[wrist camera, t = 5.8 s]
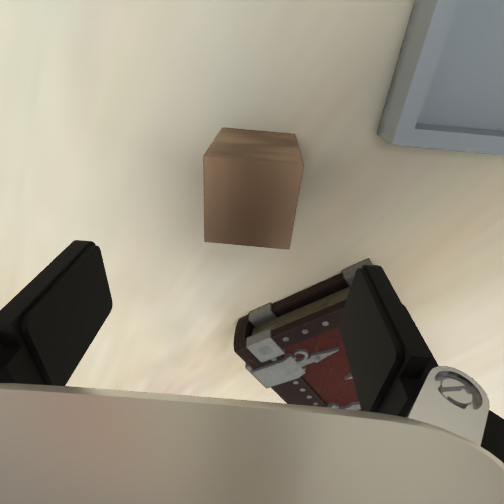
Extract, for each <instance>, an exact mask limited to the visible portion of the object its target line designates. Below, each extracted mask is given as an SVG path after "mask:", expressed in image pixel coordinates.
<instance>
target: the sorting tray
mask: <svg viewBox="0 0 504 504" xmlns="http://www.w3.org/2000/svg"><path fill="white" fill-rule="evenodd" d="M377 134H378V135H379V136H380V137H382V138H383V139H384V140H385V141H387V142H388V143H389V144H391V145H396V146H407V147H418V148H429V149H440V150H451V151H462V152H473V153H484V154H495V155H504V0H415V3H414V7H413V10H412V14H411V17H410V21H409V24H408V28H407V31H406V34H405V38H404V41H403V45H402V48H401V52H400V55H399V59H398V62H397V66H396V69H395V73H394V76H393V80H392V83H391V87H390V90H389V93H388V97H387V100H386V104H385V107H384V111H383V114H382V118H381V121H380V125H379V128H378V132H377Z"/></svg>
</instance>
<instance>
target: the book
mask: <svg viewBox="0 0 504 504" xmlns="http://www.w3.org/2000/svg"><path fill="white" fill-rule="evenodd" d="M363 265H372V263H371V261H370V260H369V258H368V259H366V260H364V261H362V262H359V263H357V264H355V265H353V266H350V267H348V268H346V269H344V270H342V274H340V275H338V276H336V277H333V278H331V279H329V280H327V281H324V282H322V283H320V284H318V285H315V286H313V287H311V288H309V289H306V290H304V291H302V292H300V293H297V294H295V295H293V296H291V297H289V298H286V299H284V300H282V301H280V302H277V303H275V304H273V305H272V304H271V303H268V304H266V305H264V306H262V307H259V308H257V309H255V310H253V311H251V312H249V315H248V316H246V317H244V318H241V319H239V321H238V323H237V326H236V329H235V335H234V351H235V352H236V353H237V354H238V355H239V356H240V357H241V358H242V359H243V360H244V361H245V362H246V366H245V368H246V369H247V370H248V371H249V372H250V373H251V374H252V375H253V376H254V377H255V378H256V379H257V380H258V381H259V382H260V383H261V384H262V385H263V386H265V387H266V388H270V387H271V388H272V389H273V390H274V391H275V392H276V393H277V394H278V395H279V396H280V397H281V398H282V399H283V400H284V401H285V402H286V403H287V404H294V405H306V406H317V407H328V408H337V409H347V410H357V411H361V407H360V403H359V400H358V396H357V392H356V389H355V385H354V381H353V378H352V374H351V370H350V367H349V363H348V359H347V356H346V352H345V348H344V345H343V341H342V337H341V334H340V329H339V323H340V319H341V315H342V312H343V309H344V306H345V303H346V300H347V297H348V294H349V291H350V288H351V285H352V281H353V278H354V275H355V272H356V270H357V268H361V267H362V266H363Z"/></svg>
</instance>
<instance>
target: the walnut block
mask: <svg viewBox="0 0 504 504" xmlns="http://www.w3.org/2000/svg"><path fill="white" fill-rule="evenodd" d="M303 166H304V165H303V162H302V158H301V154H300V151H299V147H298V144H297V140H296V137H295V134H289V133H278V132H266V131H255V130H244V129H233V128H222V129H221V130H220V132H219V133H218V135H217V136H216V138H215V139H214V141H213V142H212V144H211V145H210V147H209V148H208V150H207V151H206V153H205V154H204V156H203V171H204V238H205V242H213V243H224V244H235V245H246V246H257V247H267V248H278V249H289V248H290V242H291V236H292V231H293V225H294V219H295V213H296V207H297V201H298V195H299V189H300V183H301V177H302V171H303Z"/></svg>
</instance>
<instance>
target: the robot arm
mask: <svg viewBox="0 0 504 504" xmlns="http://www.w3.org/2000/svg"><path fill="white" fill-rule="evenodd" d="M111 309H112V298H111V294H110V289H109V285H108V281H107V276H106V272H105V268H104V263H103V259H102V255H101V250H100V248H99V246H96V245H95V243H94V242H92V241H80V240H75V241H73V242H72V243H71V244H70V245H69V246H68V247H67V248H66V249H65V250H64V251H63V252H62V253H61V254H59V255H58V256H57V257H56V258H55V259H54V260H53V261H52V262H51V263H50V264H49V265H48V266H47V267H46V268H45V269H44V270H43V271H42V272H40V273H39V274H38V275H37V276H36V277H35V278H34V279H33V280H32V281H31V282H30V283H29V284H28V285H27V286H26V287H25V288H24V289H23V290H21V291H20V292H19V293H18V294H17V295H16V296H15V297H14V298H13V299H12V300H11V301H10V302H9V303H8V304H7V305H6V306H5V307H4V308H2V309H1V310H0V504H504V419H502V418H501V417H499V416H498V415H496V414H495V413H493V412H492V411H490V410H489V399H488V397H487V394H486V393H485V391H484V390H483V389H482V387H481V386H480V385H479V384H478V383H477V382H476V381H475V380H474V379H473V378H471V377H470V376H468V375H467V374H465V373H464V372H462V371H460V370H457V369H455V368H451V367H447V366H438V364H437V362H436V360H435V359H434V357H433V355H432V353H431V351H430V350H429V348H428V346H427V344H426V343H425V341H424V339H423V337H422V336H421V334H420V332H419V330H418V328H417V327H416V325H415V323H414V321H413V320H412V318H411V316H410V314H409V312H408V311H407V309H406V307H405V306H404V305H403V304H402V303H401V301H400V299H399V298H398V296H397V294H396V292H395V290H394V289H393V287H392V285H391V283H390V281H389V280H388V278H387V276H386V274H385V272H384V271H383V269H382V267H381V266H376V265H363V266H362V267H361V268H357V270H356V272H355V275H354V278H353V281H352V285H351V288H350V291H349V294H348V297H347V300H346V303H345V306H344V309H343V312H342V315H341V319H340V323H339V329H340V334H341V337H342V341H343V345H344V348H345V352H346V356H347V359H348V363H349V367H350V370H351V374H352V378H353V381H354V385H355V389H356V392H357V396H358V400H359V403H360V407H361V411H357V410H347V409H337V408H328V407H317V406H306V405H294V404H282V403H271V402H259V401H247V400H235V399H223V398H211V397H199V396H186V395H174V394H161V393H148V392H135V391H122V390H109V389H95V388H82V387H69V386H65V385H66V383H67V382H68V380H69V378H70V377H71V375H72V374H73V372H74V370H75V369H76V367H77V365H78V364H79V362H80V360H81V359H82V357H83V356H84V354H85V352H86V351H87V349H88V347H89V346H90V344H91V343H92V341H93V339H94V338H95V336H96V334H97V333H98V331H99V330H100V328H101V326H102V325H103V323H104V321H105V320H106V318H107V317H108V315H109V313H110V312H111Z"/></svg>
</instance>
